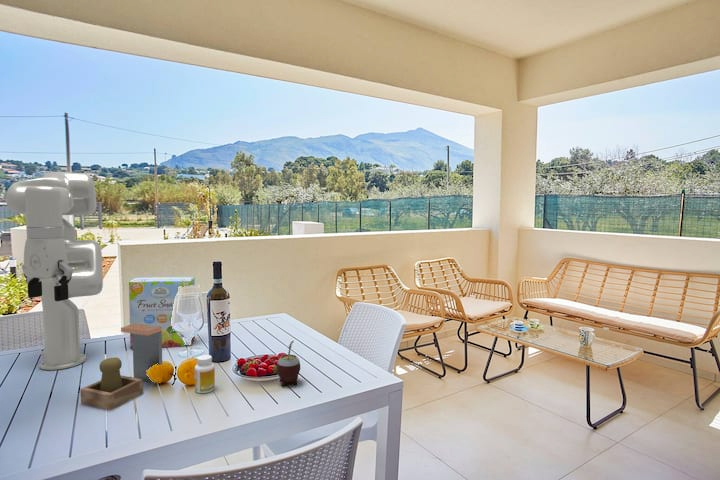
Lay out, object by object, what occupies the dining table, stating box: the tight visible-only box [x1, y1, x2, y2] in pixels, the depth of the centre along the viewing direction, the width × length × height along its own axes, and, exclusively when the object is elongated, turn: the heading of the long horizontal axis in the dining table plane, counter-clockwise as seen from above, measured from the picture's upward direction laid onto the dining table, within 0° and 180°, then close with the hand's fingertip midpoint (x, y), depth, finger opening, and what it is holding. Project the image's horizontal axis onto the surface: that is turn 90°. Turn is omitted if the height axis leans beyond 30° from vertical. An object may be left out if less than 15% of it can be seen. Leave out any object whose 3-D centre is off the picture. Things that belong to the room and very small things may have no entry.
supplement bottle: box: [194, 354, 216, 394], centre depth 117 cm, size 5×5×10 cm
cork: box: [99, 357, 123, 393], centre depth 111 cm, size 6×6×11 cm
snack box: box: [128, 276, 196, 350], centre depth 153 cm, size 22×9×26 cm, turn 104°
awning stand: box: [120, 323, 163, 384], centre depth 120 cm, size 10×5×17 cm, turn 72°
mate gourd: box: [276, 340, 301, 388], centre depth 121 cm, size 8×8×15 cm
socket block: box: [79, 374, 144, 411], centre depth 111 cm, size 10×10×4 cm
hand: (48, 298), depth 106 cm, fingers open, 9 cm apart
